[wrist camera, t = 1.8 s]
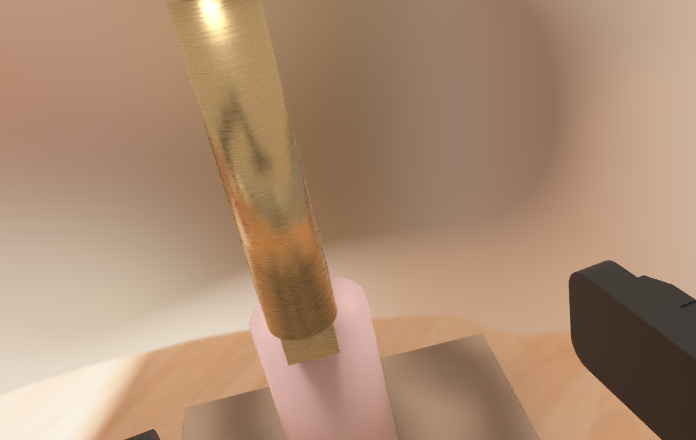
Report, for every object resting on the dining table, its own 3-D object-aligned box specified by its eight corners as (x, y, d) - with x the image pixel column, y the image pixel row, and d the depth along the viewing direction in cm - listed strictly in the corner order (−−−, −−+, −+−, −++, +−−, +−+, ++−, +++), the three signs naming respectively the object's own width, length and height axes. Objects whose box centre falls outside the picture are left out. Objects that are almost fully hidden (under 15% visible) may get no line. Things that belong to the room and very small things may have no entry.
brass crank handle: (307, 358, 42) (174, -106, 29) (352, 347, 42) (239, -120, 30) (338, 583, 28) (113, -103, 16) (405, 566, 28) (235, -130, 16)
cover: (309, 559, 31) (242, 369, 26) (300, 465, 36) (242, 289, 31) (426, 529, 32) (385, 333, 26) (401, 439, 37) (361, 260, 31)
